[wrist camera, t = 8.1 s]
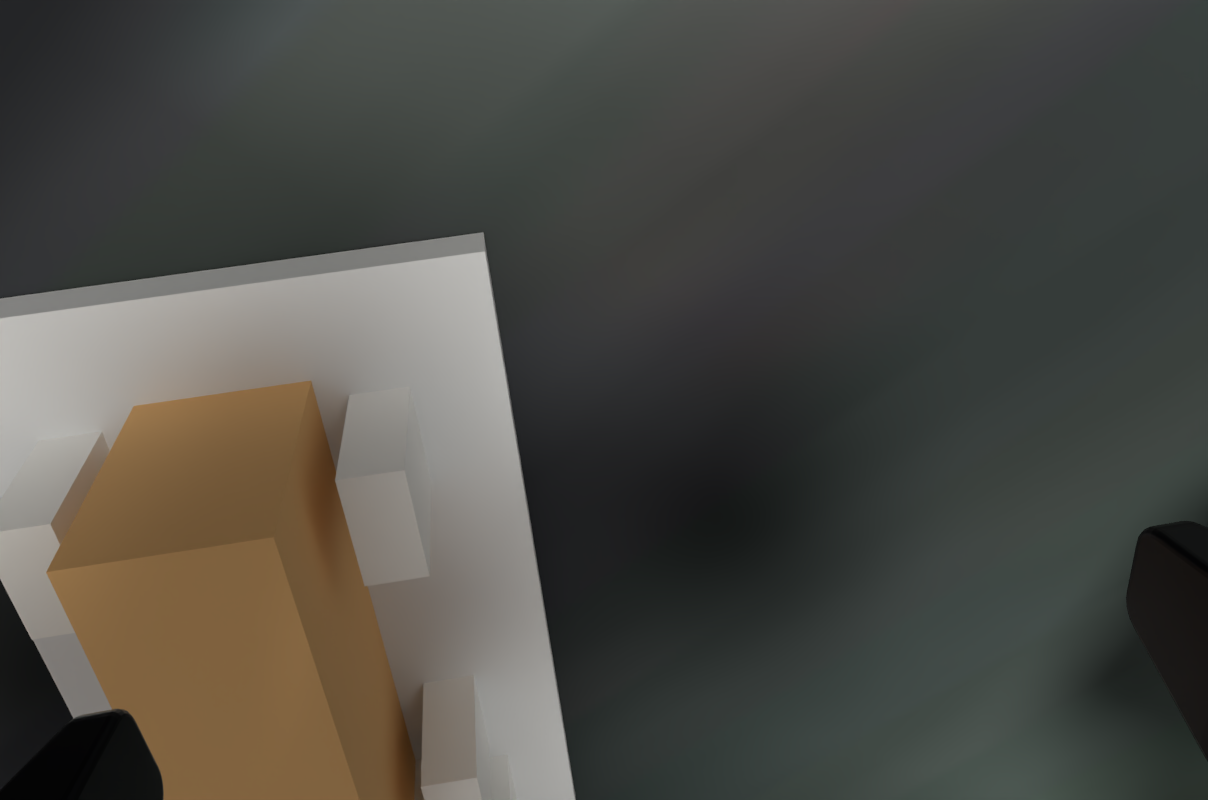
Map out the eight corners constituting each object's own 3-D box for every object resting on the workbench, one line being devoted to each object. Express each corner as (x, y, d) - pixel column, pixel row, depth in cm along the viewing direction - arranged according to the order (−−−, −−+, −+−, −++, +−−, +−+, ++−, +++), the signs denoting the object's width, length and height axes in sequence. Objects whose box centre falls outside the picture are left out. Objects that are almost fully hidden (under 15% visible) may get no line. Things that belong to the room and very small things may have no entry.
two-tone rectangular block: (337, 376, 20) (306, 532, 16) (464, 870, 28) (468, 1064, 24) (107, 409, 20) (12, 577, 15) (303, 899, 28) (276, 1100, 23)
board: (483, 232, 20) (491, 319, 16) (587, 867, 30) (605, 1003, 27) (-99, 312, 19) (-219, 421, 16) (210, 936, 29) (178, 1085, 26)
